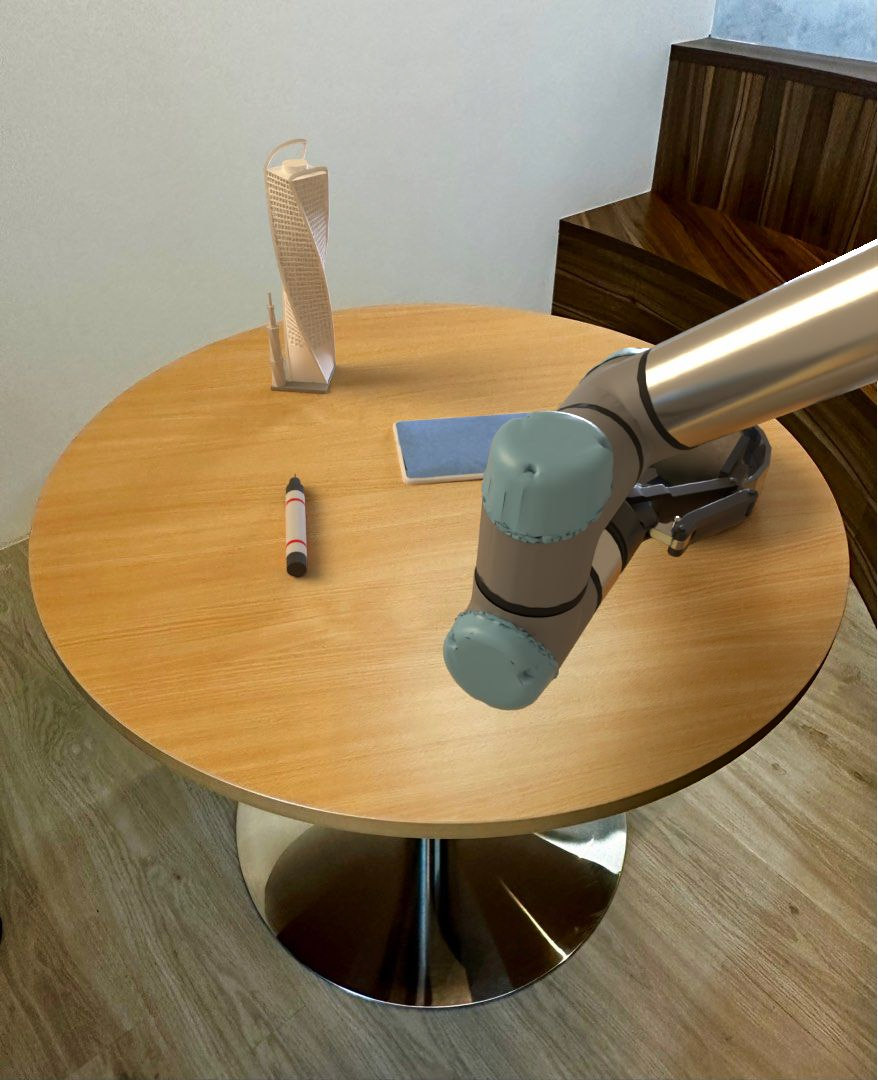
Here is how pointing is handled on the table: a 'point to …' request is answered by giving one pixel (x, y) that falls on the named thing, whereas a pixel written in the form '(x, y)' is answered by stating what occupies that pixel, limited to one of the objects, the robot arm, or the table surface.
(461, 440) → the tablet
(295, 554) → the marker
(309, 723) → the table surface
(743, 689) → the table surface
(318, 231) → the skyscraper
